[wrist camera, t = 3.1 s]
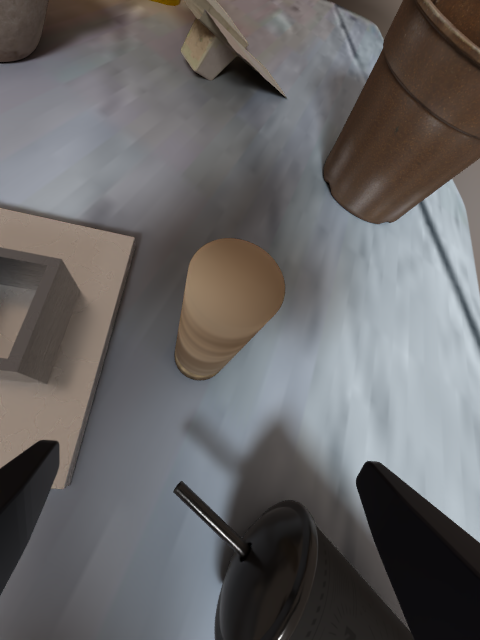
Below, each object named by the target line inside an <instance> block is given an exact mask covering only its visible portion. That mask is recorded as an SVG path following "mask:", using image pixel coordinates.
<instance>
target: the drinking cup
mask: <svg viewBox="0 0 480 640" xmlns="http://www.w3.org/2000/svg"><path fill="white" fill-rule="evenodd" d="M173 492H174V493H175V494H176V495H177V496H178V497H179V498H180V499H181V500H182V501H183V502H184V503H185V504H186V505H187V506H188V507H189V508H190V509H191V510H192V511H193V512H195V513H196V514H197V515H198V516H199V517H200V518H201V519H202V520H203V521H204V522H205V523H206V524H207V525H208V526H209V527H210V528H211V529H212V530H213V531H214V532H215V533H216V534H217V535H218V536H219V537H220V538H222V539H223V540H224V541H225V542H226V543H227V544H228V545H229V546H230V547H231V548H232V549H233V550H234V554H233V556H232V558H231V561H230V563H229V566H228V569H227V572H226V575H225V579H224V582H223V585H222V588H221V592H220V595H219V599H218V604H217V609H216V616H215V640H414V638H413V636H412V633H411V632H410V631H409V630H408V629H407V628H406V626H405V625H404V624H403V623H402V622H401V621H400V620H399V619H398V617H397V616H396V615H395V614H394V613H393V612H392V611H391V610H390V608H389V607H388V606H387V605H386V604H385V603H384V602H383V601H382V599H381V598H380V597H379V596H378V595H377V594H376V593H375V592H374V591H373V589H372V588H371V587H370V586H369V585H368V584H367V583H366V582H365V580H364V579H363V578H362V577H361V576H360V575H359V574H358V573H357V571H356V570H355V569H354V568H353V567H352V566H351V565H350V564H349V562H348V561H347V560H346V559H345V558H344V557H343V556H342V555H341V553H340V552H339V551H338V550H337V549H336V548H335V547H334V546H333V544H332V543H331V542H330V541H329V540H328V539H327V538H326V537H325V536H324V534H323V533H322V532H321V531H320V530H319V529H318V528H317V527H316V525H315V522H314V520H313V517H312V516H311V514H310V512H309V511H308V510H307V509H306V508H305V507H304V506H303V505H302V504H301V503H299V502H297V501H294V500H285V501H282V502H279V503H277V504H275V505H274V506H272V507H271V508H269V509H268V510H267V511H266V512H265V513H264V514H263V515H262V516H261V517H260V518H259V519H258V520H257V521H256V522H255V523H254V524H253V525H252V526H251V527H250V528H249V529H248V531H247V532H246V533H245V535H244V536H243V537H242V538H241V537H240V536H239V535H238V534H237V533H236V532H235V531H234V530H233V529H232V528H231V527H230V526H228V525H227V524H226V523H225V522H224V521H223V520H222V519H221V518H220V517H219V516H218V515H217V514H216V513H215V512H214V511H213V510H212V509H211V508H210V507H209V506H208V505H207V504H206V503H205V502H203V501H202V500H201V499H200V498H199V497H198V496H197V495H196V494H195V493H194V492H193V491H192V490H191V489H190V488H189V487H188V486H187V485H186V484H185V483H184V482H183V481H181V482H180V483H179V484H178V485H177V486H176V488H175V489H174V491H173ZM250 545H252V548H251V547H250ZM243 560H244V561H243Z"/></svg>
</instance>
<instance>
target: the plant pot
mask: <svg viewBox="0 0 480 640" xmlns="http://www.w3.org/2000/svg"><path fill="white" fill-rule="evenodd" d="M479 158H480V0H403V2H402V4H401V6H400V8H399V10H398V12H397V14H396V16H395V18H394V20H393V22H392V24H391V27H390V28H389V30H388V33H387V35H386V37H385V39H384V43H383V50H382V52H381V54H380V56H379V58H378V60H377V62H376V64H375V66H374V68H373V70H372V72H371V74H370V76H369V78H368V80H367V82H366V84H365V86H364V88H363V90H362V92H361V94H360V96H359V98H358V100H357V102H356V104H355V106H354V108H353V110H352V111H351V113H350V115H349V117H348V119H347V121H346V123H345V125H344V127H343V129H342V131H341V133H340V135H339V137H338V139H337V141H336V143H335V145H334V147H333V149H332V150H331V152H330V154H329V156H328V158H327V160H326V162H325V165H324V179H325V181H326V182H328V183H329V185H330V188H331V194H332V196H333V197H334V198H335V200H336V201H337V202H338V203H339V204H340V205H341V206H343V207H344V208H345V209H346V210H347V211H349V212H350V213H352V214H353V215H355V216H357V217H358V218H360V219H363V220H365V221H367V222H370V223H375V224H380V223H383V222H389V223H391V222H394V221H396V220H397V219H399V218H400V217H401V216H403V215H404V214H405V213H406V212H408V211H409V210H410V209H412V208H413V207H414V206H416V205H417V204H418V203H420V202H421V201H423V200H424V199H425V198H427V197H428V196H429V195H431V194H432V193H433V192H435V191H436V190H437V189H439V188H440V187H441V186H443V185H444V184H445V183H447V182H448V181H449V180H451V179H452V178H453V177H455V176H456V175H457V174H459V173H460V172H461V171H463V170H464V169H466V168H467V167H468V166H470V165H471V164H472V163H474V162H475V161H477V160H478V159H479Z"/></svg>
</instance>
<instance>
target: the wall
mask: <svg viewBox="0 0 480 640" xmlns="http://www.w3.org/2000/svg"><path fill="white" fill-rule="evenodd" d="M184 1H185V3H186V4H187V6H188V7H189V9H190V10H191V11H192V13H193V14H194V15H195V17H196V19H195V21H194V23H193V25H192V27H191V29H190V31H189V33H188V35H187V38H186V40H185V42H184V44H183V46H182V48H181V53H182V54H183V56H184V57H185V59H186V60H187V62H188V63H189V65H190V66H191V68H192V69H193V70H194V71H195V72H196V73H198V74H200V75H201V76H203V77H204V78H206V79H207V80H213V79H214V78H215V77H216V76H217V75H218V74H219V73H220V72H221V71H222V70H223V69H224V68H225V67H226V66H227V65H228V64H229V63H230V62H231V61H232V60H233V59H234V58H235V57H237V56H239V57H240V58H242V59H243V60H244V61H245V62H246V63H247V64H248V65H249V66H251V67H252V68H253V69H254V70H255V71H256V72H257V73H259V74H261V75H262V76H263V77H264V78H265V79H266V80H267V81H268V82H270V84H272V85H273V86H274V87H275V88H276V89H277V90H278V91H279V92H280V93H281V94H283V95H284V96H285V94H284V93H283V91H282V90H281V88H280V87H279V86H278V84H277V83H276V81H275V80H274V79H273V77H272V76H271V75H270V73H269V72H268V70H267V69H266V68H265V67H264V66H263V65H262V64H261V63H260V62H259V61H258V60H257V59H256V58H254V57H253V56H252V55H251V54H250V53H249V52H248V51H247V50H246V49H245V48H246V47H247V46H248V42H247V41H246V39H245V38H244V36H243V35H242V34H241V33H240V31H239V30H238V29H237V27H236V26H235V24H234V23H233V22H232V20H231V19H230V17H229V16H228V14H227V13H226V12H225V11H224V9H223V8H222V7H221V6H220V4H219V3H217V1H216V0H184ZM285 97H286V96H285ZM286 98H287V97H286Z"/></svg>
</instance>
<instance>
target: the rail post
mask: <svg viewBox="0 0 480 640" xmlns="http://www.w3.org/2000/svg"><path fill="white" fill-rule="evenodd" d="M284 296H285V283H284V278H283V275H282V272H281V270H280V268H279V266H278V265H277V263H276V262H275V261H274V259H273V258H272V257H271V256H270V255H269V254H268V253H267V252H266V251H264V250H263V249H262V248H260V247H259V246H257V245H255V244H253V243H250V242H248V241H245V240H241V239H234V238H224V239H218V240H214V241H212V242H209V243H207V244H206V245H204V246H202V247H201V248H200V249H199V250H198V251H197V252H196V253H195V255H194V256H193V258H192V259H191V262H190V264H189V268H188V273H187V280H186V286H185V292H184V298H183V304H182V310H181V317H180V323H179V329H178V335H177V341H176V347H175V362H176V365H177V367H178V369H179V370H180V371H181V373H182V374H184V375H185V376H186V377H188V378H190V379H193V380H207V379H210V378H212V377H213V376H215V375H216V374H217V373H218V372H219V371H220V370H221V369H222V368H223V367H224V366H225V365H226V364H227V363H228V362H229V361H230V360H231V359H232V358H233V357H234V356H235V355H236V354H237V353H238V352H239V351H240V350H241V349H242V348H243V347H244V346H245V345H246V344H247V343H248V342H249V341H250V340H251V339H252V338H253V336H254V335H255V334H256V333H257V332H258V331H259V330H260V329H261V328H262V327H263V326H264V325H265V324H266V323H267V322H268V321H269V320H270V319H271V318H272V317H273V316H274V315H275V314H276V313H277V311H278V310H279V309H280V307H281V305H282V303H283V300H284Z"/></svg>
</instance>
